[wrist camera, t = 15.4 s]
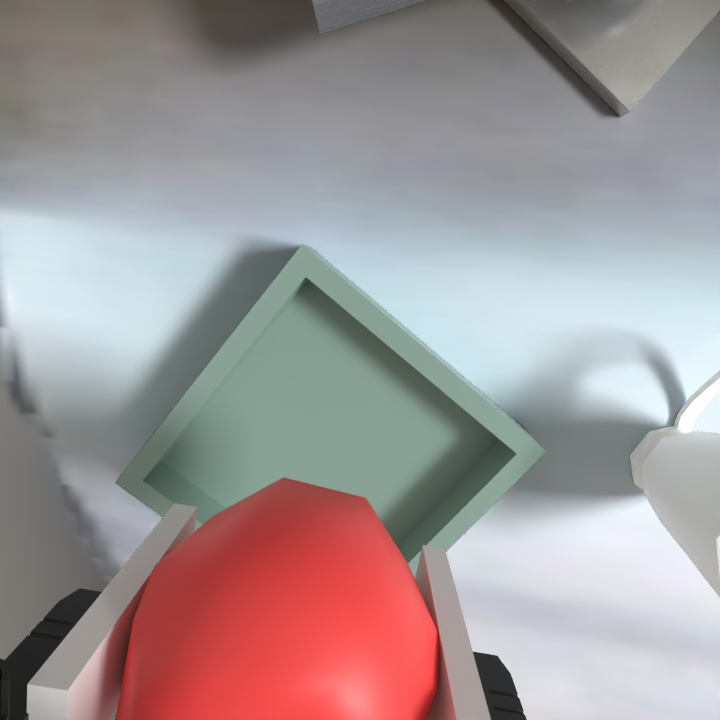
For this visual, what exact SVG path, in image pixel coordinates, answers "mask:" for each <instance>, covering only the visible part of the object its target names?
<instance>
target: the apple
mask: <svg viewBox="0 0 720 720" xmlns="http://www.w3.org/2000/svg"><path fill="white" fill-rule="evenodd" d="M438 656H439V632H438V630H437V627H436V625H435V623H434V621H433V618H432V616H431V614H430V612H429V610H428V607H427V605H426V603H425V601H424V599H423V596H422V594H421V592H420V590H419V587H418V585H417V583H416V581H415V579H414V576H413V574H412V572H411V570H410V567H409V565H408V563H407V562H406V560H405V558H404V557H403V555H402V554H401V552H400V550H399V549H398V547H397V546H396V544H395V543H394V541H393V539H392V538H391V536H390V535H389V533H388V532H387V530H386V528H385V527H384V525H383V524H382V522H381V520H380V519H379V517H378V516H377V514H376V513H375V511H374V509H373V508H372V506H371V505H370V503H369V501H368V500H367V498H365V497H361V496H357V495H353V494H349V493H345V492H341V491H337V490H333V489H329V488H325V487H321V486H317V485H313V484H309V483H305V482H301V481H297V480H293V479H289V478H285V477H283V478H281V479H279V480H277V481H276V482H274V483H272V484H270V485H268V486H266V487H265V488H263V489H261V490H259V491H257V492H256V493H254V494H252V495H250V496H248V497H246V498H245V499H243V500H241V501H239V502H237V503H235V504H234V505H232V506H230V507H228V508H226V509H225V510H223V511H221V512H219V513H217V514H215V515H214V516H212V517H211V518H210V519H209V520H208V521H206V522H205V523H204V524H203V525H202V526H201V527H199V528H198V529H197V530H196V531H195V532H194V533H192V534H191V535H190V536H189V537H188V538H187V539H185V540H184V541H183V542H182V543H181V544H179V545H178V546H177V547H176V548H175V549H174V550H172V551H171V552H170V553H169V554H168V555H167V556H165V557H164V558H163V559H162V560H161V561H160V562H158V563H157V564H156V565H155V566H154V568H153V571H152V574H151V576H150V579H149V581H148V584H147V586H146V589H145V591H144V594H143V596H142V599H141V601H140V604H139V607H138V609H137V612H136V614H135V617H134V619H133V625H132V630H131V636H130V641H129V647H128V652H127V658H126V663H125V669H124V674H123V680H122V685H121V691H120V696H119V702H118V707H117V713H116V718H115V720H426V719H427V716H428V713H429V711H430V708H431V705H432V702H433V699H434V697H435V694H436V691H437V674H438Z"/></svg>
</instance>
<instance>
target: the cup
mask: <svg viewBox="0 0 720 720" xmlns="http://www.w3.org/2000/svg"><path fill="white" fill-rule="evenodd" d="M719 393H720V371H719V372H717V373H716V374H715V375H714V376H713V377H712V378H710V379H709V380H708V381H707V382H706V383H705V384H704V385H703V386H702V387H700V388H699V389H698V390H697V391H696V392H695V393H694V394H693V395H692V396H691V397H690V398H689V399H688V401H687V402H686V403H685V405H684V406H683V407H682V409H681V410H680V411H679V412H678V414H677V417H676V420H675V423H674V426H670V427H665V428H660V429H656V430H651V431H649V432H648V433H647V434H646V436H645V437H644V438H643V439H642V441H641V442H640V443H639V445H638V446H637V447H636V448H635V450H634V451H633V452H632V453H631V455H630V461H631V469H632V476H633V483H634V484H635V485H636V486H638V487H639V488H641V489H643V490H644V492H645V496H646V498H647V499H648V501H649V503H650V505H651V506H652V508H653V510H654V511H655V513H656V515H657V517H658V518H659V520H660V522H661V523H662V524H663V526H664V527H665V528H666V529H667V531H668V532H669V533H670V534H671V536H672V537H673V538H674V539H675V541H676V542H677V543H678V544H679V546H680V547H681V548H682V549H683V550H684V552H685V553H686V554H687V556H688V557H689V558H690V559H691V561H692V562H693V563H694V565H695V566H696V567H697V569H698V570H699V571H700V573H701V574H702V575H703V577H704V578H705V579H706V580H707V582H708V583H709V584H710V585H711V587H712V588H713V589H714V590H715V592H716V593H717V594H718V596H719V597H720V434H717V433H711V432H705V431H698V430H697V431H692V427H693V424H694V420H695V418H696V417H697V416H698V414H699V413H700V412H701V411H702V409H703V408H704V407H705V406H706V404H707V403H708V402H709V401H711V400H712V399H713V398H714V397H715V396H716V395H717V394H719Z"/></svg>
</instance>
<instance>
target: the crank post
mask: <svg viewBox="0 0 720 720" xmlns="http://www.w3.org/2000/svg"><path fill="white" fill-rule="evenodd" d="M504 1H505V2H506V3H507V4H508V5H509V6H510V7H511V8H512V9H513V10H514V11H515V12H516V13H517V14H518V15H519V16H520V17H521V18H522V19H523V20H524V21H525V22H526V23H527V24H528V25H529V26H530V27H531V28H532V29H533V30H534V31H535V32H536V33H537V34H538V35H539V36H540V37H541V38H542V39H543V40H544V41H545V42H546V43H547V44H548V45H549V46H550V47H551V48H552V49H553V50H554V51H555V52H556V53H557V54H558V55H559V56H560V57H561V58H562V59H563V60H564V61H565V62H566V63H567V64H568V65H569V66H570V67H571V68H572V69H573V70H574V71H575V72H576V73H577V74H578V75H579V76H580V77H581V78H582V79H583V80H584V81H585V82H586V83H587V84H588V85H589V86H590V87H591V88H592V89H593V90H594V91H595V92H596V93H597V94H598V95H599V96H600V97H601V98H602V99H603V100H604V101H605V102H606V103H607V104H608V105H609V106H610V107H611V108H612V109H613V110H614V111H615V112H616V113H617V114H618V115H619V116H620V117H622V116H624V115H625V114H627V113H629V112H630V111H631V110H632V109H633V108H634V107H635V106H636V105H637V103H638V102H639V101H640V100H641V99H642V98H643V97H644V96H645V94H646V93H647V92H648V91H649V90H650V89H651V88H652V86H653V85H654V84H655V83H656V82H657V81H658V80H659V79H660V77H661V76H662V75H663V74H664V73H665V72H666V71H667V70H668V68H669V67H670V66H671V65H672V64H673V63H674V62H675V61H676V59H677V58H678V57H679V56H680V55H681V54H682V53H683V52H684V50H685V49H686V48H687V47H688V46H689V45H690V44H691V43H692V41H693V40H694V39H695V38H696V37H697V36H698V35H699V34H700V32H701V31H702V30H703V29H704V28H705V27H706V26H707V24H708V23H709V22H710V21H711V20H712V19H713V18H714V17H715V15H716V14H717V13H718V12H719V11H720V0H504Z"/></svg>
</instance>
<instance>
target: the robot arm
mask: <svg viewBox="0 0 720 720" xmlns="http://www.w3.org/2000/svg"><path fill="white" fill-rule="evenodd" d="M196 514H197V507H194V506H189V505H183V504H177V503H174V505H173V506H172V507H171V508H170V509H169V511H168V512H167V513H166V514H165V516H164V517H163V518H162V519H161V520H160V522H159V523H158V524H157V525H156V527H155V528H154V529H153V530H152V532H151V533H150V534H149V535H148V536H147V538H146V539H145V540H144V541H143V543H142V544H141V545H140V546H139V548H138V549H137V550H136V551H135V552H134V554H133V555H132V556H131V557H130V559H129V560H128V561H127V562H126V564H125V565H124V566H123V567H122V568H121V570H120V571H119V572H118V573H117V575H116V576H115V577H114V578H113V579H112V581H111V582H110V583H109V584H108V586H107V587H106V588H105V589H104V591H103V592H99V591H93V590H87V589H78V590H77V591H75V592H73V593H72V594H70V595H68V596H67V597H65V598H64V599H62V600H60V601H59V602H58V603H57V604H56V605H55V606H54V607H53V608H52V610H51V611H50V612H49V613H48V614H47V615H46V616H45V617H44V619H43V621H42V622H40V623H39V624H38V625H37V626H36V627H35V628H34V629H33V630H32V631H31V634H30V635H29V636H27V637H26V638H25V639H24V640H23V641H22V642H21V643H20V644H19V645H18V647H17V648H16V649H15V650H14V651H13V652H12V653H11V654H10V655H9V656H8V657H7V658H6V660H2V659H0V720H109V718H110V716H111V715H112V713H113V711H114V709H115V708H116V706H117V704H118V702H119V696H120V691H121V685H122V680H123V674H124V669H125V663H126V658H127V652H128V647H129V641H130V636H131V630H132V625H133V619H134V617H135V614H136V612H137V609H138V607H139V604H140V601H141V599H142V596H143V594H144V591H145V589H146V586H147V584H148V581H149V579H150V576H151V574H152V571H153V568H154V566H155V565H156V564H157V563H158V562H160V561H161V560H162V559H163V558H164V557H165V556H167V555H168V554H169V553H170V552H171V551H172V550H174V549H175V548H176V547H177V546H178V545H179V544H181V543H182V542H183V541H184V540H185V539H187V538H188V537H189V536H190V535H191V534H192V533H194V532H195V523H196ZM415 581H416V583H417V585H418V587H419V590H420V592H421V594H422V596H423V599H424V601H425V603H426V605H427V607H428V610H429V612H430V614H431V616H432V618H433V621H434V623H435V625H436V627H437V630H438V632H439V656H438V674H437V691H436V694H435V697H434V699H433V702H432V705H431V708H430V711H429V713H428V716H427V719H426V720H526V717H525V715H524V714H523V708H522V705H521V702H520V700H519V698H518V697H517V691H516V688H515V685H514V682H513V679H512V677H511V674H510V673H509V671H508V670H507V668H506V667H505V666H504V664H503V663H502V662H501V660H500V659H499V658H498V656H496V655H490V654H483V653H477V652H473V651H472V648H471V644H470V640H469V637H468V633H467V629H466V625H465V622H464V618H463V614H462V611H461V607H460V603H459V599H458V596H457V592H456V588H455V585H454V581H453V577H452V574H451V570H450V566H449V562H448V559H447V555H446V551H445V549H443V548H437V547H431V546H425V545H422V550H421V554H420V558H419V563H418V567H417V571H416V576H415Z"/></svg>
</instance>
